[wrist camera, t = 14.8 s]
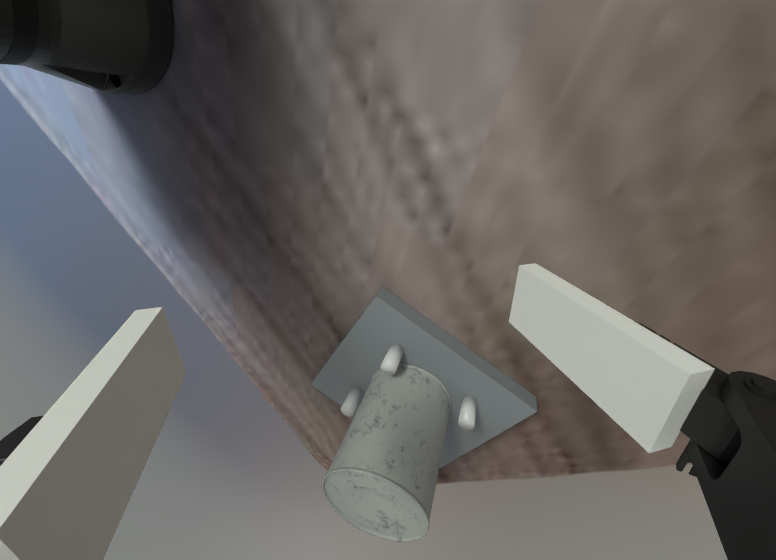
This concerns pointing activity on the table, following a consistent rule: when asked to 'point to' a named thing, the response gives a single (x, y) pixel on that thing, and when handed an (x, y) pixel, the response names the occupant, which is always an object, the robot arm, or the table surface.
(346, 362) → the stub board
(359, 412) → the grey marbled cylinder
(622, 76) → the table surface
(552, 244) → the table surface
